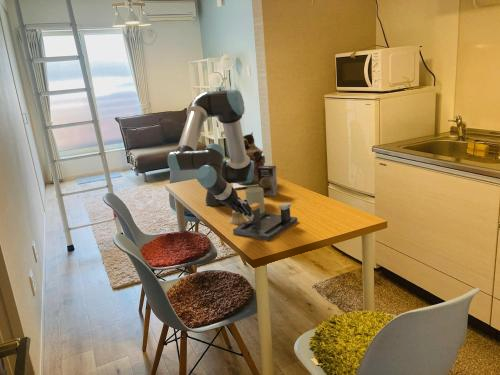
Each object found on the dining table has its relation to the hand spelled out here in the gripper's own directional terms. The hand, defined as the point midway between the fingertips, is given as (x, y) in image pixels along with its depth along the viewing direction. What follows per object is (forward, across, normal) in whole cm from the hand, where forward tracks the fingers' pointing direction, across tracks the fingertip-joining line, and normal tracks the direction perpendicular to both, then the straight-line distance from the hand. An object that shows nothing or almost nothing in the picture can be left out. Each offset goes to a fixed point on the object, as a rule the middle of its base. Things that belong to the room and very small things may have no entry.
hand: (251, 217), depth 177 cm
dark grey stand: (+6, +5, -1) cm, 8 cm away
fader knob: (+5, 0, 0) cm, 5 cm away
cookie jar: (+49, -46, +41) cm, 78 cm away
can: (+18, -12, +10) cm, 23 cm away
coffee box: (+37, -22, +29) cm, 52 cm away
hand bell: (+7, -12, -1) cm, 14 cm away
